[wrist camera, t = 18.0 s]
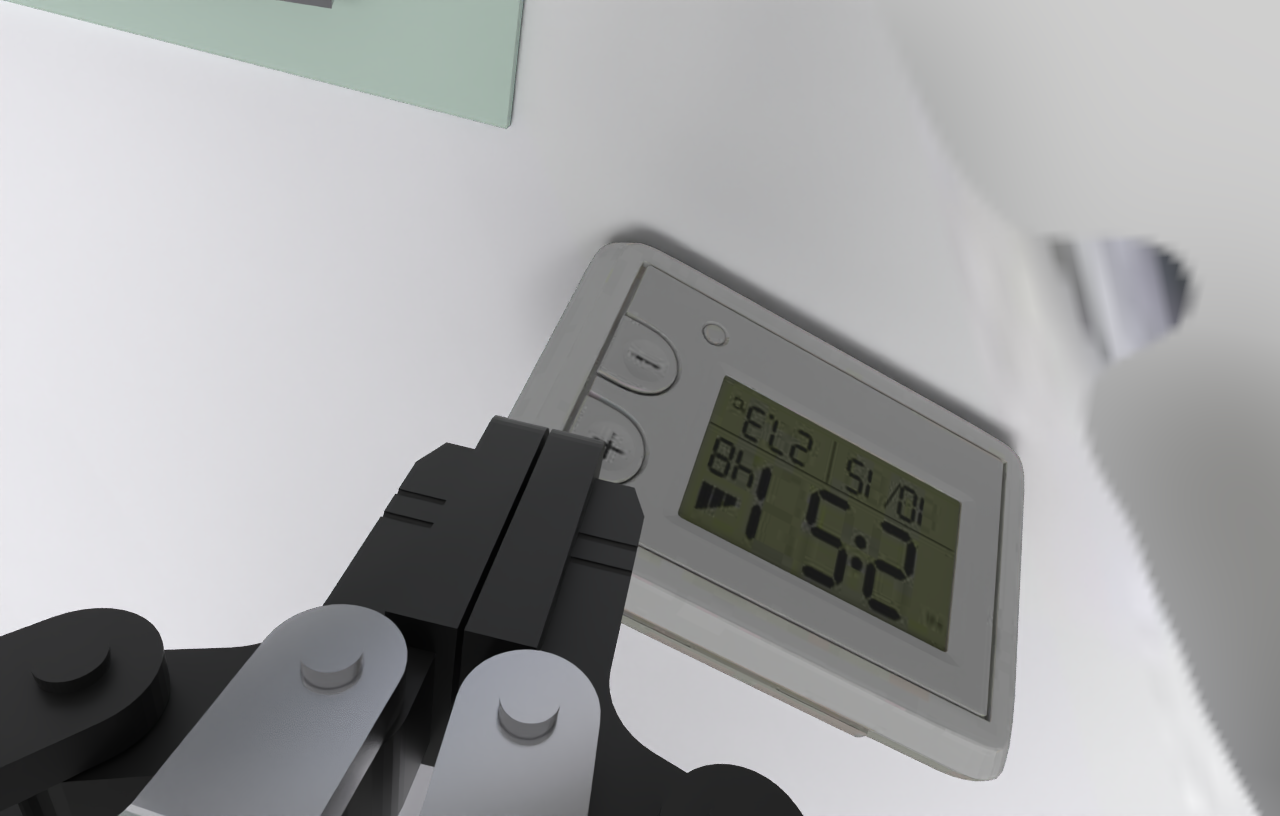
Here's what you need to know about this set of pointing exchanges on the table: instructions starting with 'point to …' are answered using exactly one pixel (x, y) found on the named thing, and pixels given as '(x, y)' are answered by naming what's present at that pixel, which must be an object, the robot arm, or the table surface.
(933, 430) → the digital clock
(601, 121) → the table surface
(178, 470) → the table surface
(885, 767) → the table surface
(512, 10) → the mat
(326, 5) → the domino
